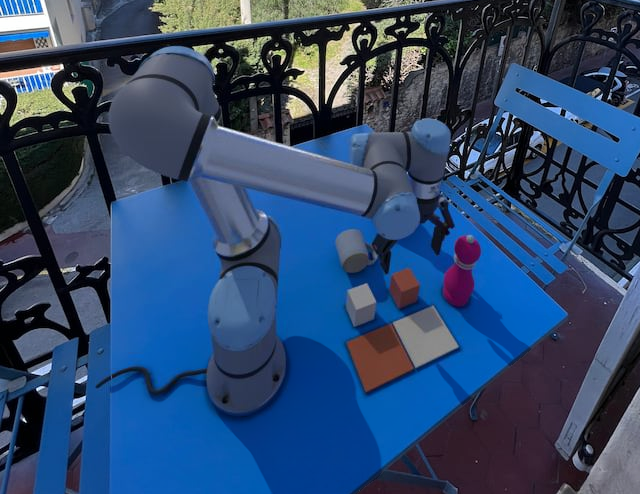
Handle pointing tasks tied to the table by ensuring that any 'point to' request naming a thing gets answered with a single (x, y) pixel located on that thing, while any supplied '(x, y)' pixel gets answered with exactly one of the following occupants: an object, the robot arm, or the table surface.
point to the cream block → (360, 304)
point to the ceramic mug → (354, 251)
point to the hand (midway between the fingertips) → (410, 259)
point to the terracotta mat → (379, 357)
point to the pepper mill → (461, 271)
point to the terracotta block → (404, 288)
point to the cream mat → (425, 336)
